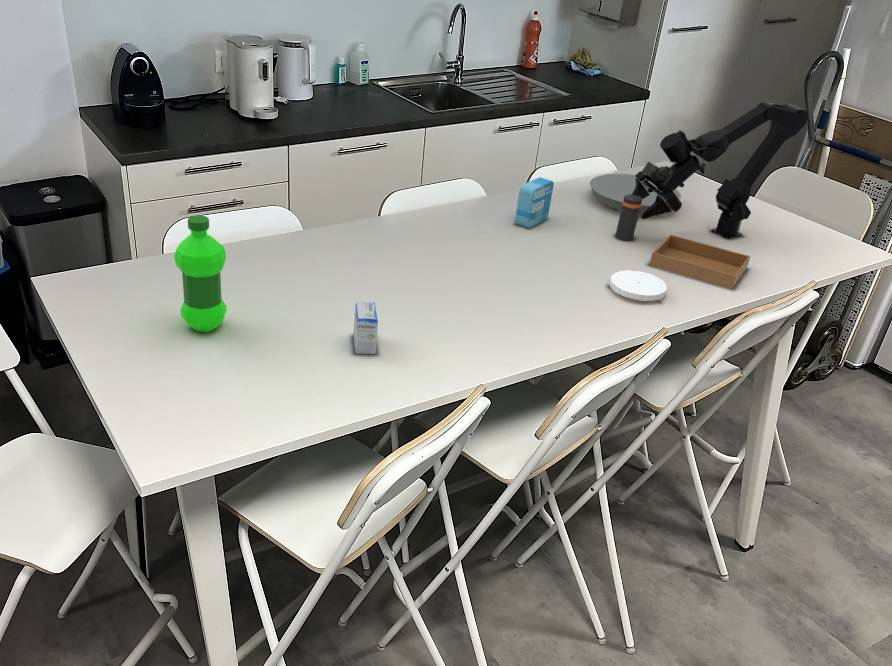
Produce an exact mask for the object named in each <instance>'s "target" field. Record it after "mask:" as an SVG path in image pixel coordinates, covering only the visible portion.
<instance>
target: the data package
mask: <svg viewBox="0 0 892 666" xmlns="http://www.w3.org/2000/svg"><path fill="white" fill-rule="evenodd" d="M554 185H555V183H554V181H553V180H550V179H547V178H544V177H541V176H539V177H537V178H534V179H532V180H530V181H527V182H525V183H523V184H522V185H521V186H520V187H519V191H518V198H517V204H516V210H515V217H514V224H516V225H518V226H521V227H524V228H527V229H530V228H532V227H534V226H536V225H538V224H540V223H542V222H544V221H546V220H547V219H548V216H549V214H550V207H551V204H552V203H551V202H552V196H553V191H554Z"/></svg>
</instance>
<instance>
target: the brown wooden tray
mask: <svg viewBox="0 0 892 666" xmlns="http://www.w3.org/2000/svg"><path fill="white" fill-rule="evenodd" d="M750 260H751V255H748V254H744V253H740V252H736V251H732V250H728V249H724V248H721V247H718V246H713V245H711V244H707V243H704V242H699V241H696V240H691V239H688V238H684V237H681V236H678V235H673V234H669V235H668V236H667V237H666V239H664V240H663V241H662V242H661V243H660V245H658V247H657V248H655V250H654V251H652V253H651V257H650V260H649V266H652V267H655V268H659V269H662V270H665V271H669V272H673V273H675V274H678V275H679V274H680V275H683V276H686V277H690V278H693V279H697V280H700V281H704V282H707V283H711V284H714V285H718V286H720V287H724V288H727V289H731V290H732V289H733V288H734V287H735V286H736V284H737V283H738V281H739V280H740V278H741V277H742V276H743V274H744V273H745V271H746V270H747V268H748V265H749V263H750Z"/></svg>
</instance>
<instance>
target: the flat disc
mask: <svg viewBox="0 0 892 666" xmlns="http://www.w3.org/2000/svg"><path fill="white" fill-rule="evenodd" d="M635 175H636V174H630V173H629V174H628V173H608V174H607V173H606V174H602V175H597V176H595V177H593V178H592V179H590V181H589V186H590V188H591V192H592V196H593V197H594V198H595V199H597V200H598V201H600V202H602V203H603V204H604V205H606V206H608V207H609V208H612V209H616V210H617V209H618V210H620V211H621V209H622V203H623V200H624V196H625V195H629V194H632V193H633V191H634V189H635V187H636V181H635V179H637V178H636V177H635ZM647 192H648V191H647ZM673 192H674V193H675V194H676V196H677V197H678V199H679V200H680V201H681V198H682V195H681V192H680V191H679V190H678V188H676V189H675V190H674V191H673ZM648 193H649V192H648ZM649 194H650V195H649V196H647V197H646V198H644V199H642V205H641V208H640V212H639V214H643V213H644V212H645V211H646V210H647V209H648V208H649V207H650V206H651V205H652V204H653V203H654V202H655V200H656V197H657V193H655V192H654V191H653V192H651V193H649ZM660 197H661V196H660Z"/></svg>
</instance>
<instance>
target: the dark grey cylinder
mask: <svg viewBox="0 0 892 666" xmlns="http://www.w3.org/2000/svg"><path fill="white" fill-rule="evenodd" d="M641 205H642V198H641V197H640V196H637V195H631V194H629V195H625V196H624V200H623V203H622V209H621V210H620V215H619V218H618V222H617V227H616V230H615V231H616V232H615V238H616V239H618V240H620V241H623V242H631V241H633V240H634V236H635V232H636V229H637V224H638V221H639V220H638V219H639V215H640V213H639V212H640V208H641Z"/></svg>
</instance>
